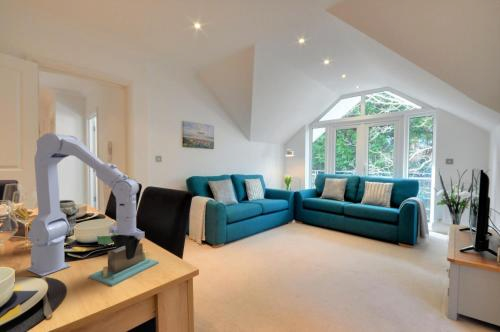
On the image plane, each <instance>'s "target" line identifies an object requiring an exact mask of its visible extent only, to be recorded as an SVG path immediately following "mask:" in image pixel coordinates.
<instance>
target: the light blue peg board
mask: <svg viewBox="0 0 500 332" xmlns="http://www.w3.org/2000/svg"><path fill="white" fill-rule="evenodd" d="M157 264H159V260H155V259H152V258H148V257H147V251H146V250H143V261H141V262H139V263H137V264H134V265H132V266H130V267H128V268H126V269H123V270H121V271H119V272H117V273H113V272H110V271H108V266H103V268H102V269H101V270H99V271H96V272H94V273H92V274H89V276H88V278H90V279H93V280H95V281H98V282H100V283H103V284H106V285H108V286H111V287H114V286H116V285H117V284H120V283H122V282H124V281H126V280H128V279H129V278H131V277H134V276H136V275H137V274H139V273H142V272H143V271H146V270H148V269H150V268H152V267H154V266H156V265H157Z"/></svg>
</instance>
